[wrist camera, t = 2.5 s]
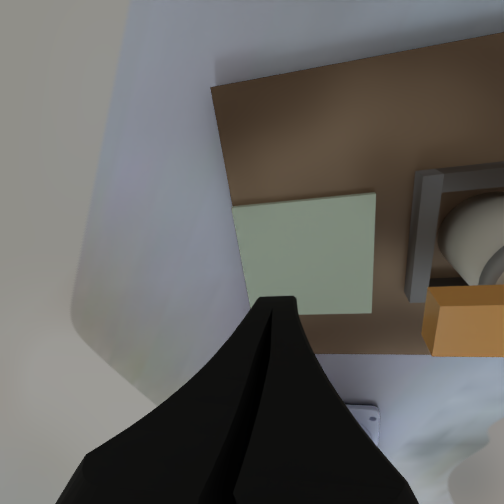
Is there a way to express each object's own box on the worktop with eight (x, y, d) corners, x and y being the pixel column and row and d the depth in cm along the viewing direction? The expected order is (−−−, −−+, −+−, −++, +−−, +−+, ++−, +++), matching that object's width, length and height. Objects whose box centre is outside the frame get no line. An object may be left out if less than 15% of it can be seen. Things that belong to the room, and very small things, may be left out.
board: (585, 342, 17) (726, 465, 11) (261, 342, 21) (246, 434, 15) (750, -12, 10) (1343, -157, 4) (216, 87, 14) (155, 81, 8)
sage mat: (370, 309, 17) (371, 313, 17) (252, 312, 18) (251, 315, 18) (374, 192, 14) (376, 194, 14) (232, 206, 15) (231, 208, 15)
